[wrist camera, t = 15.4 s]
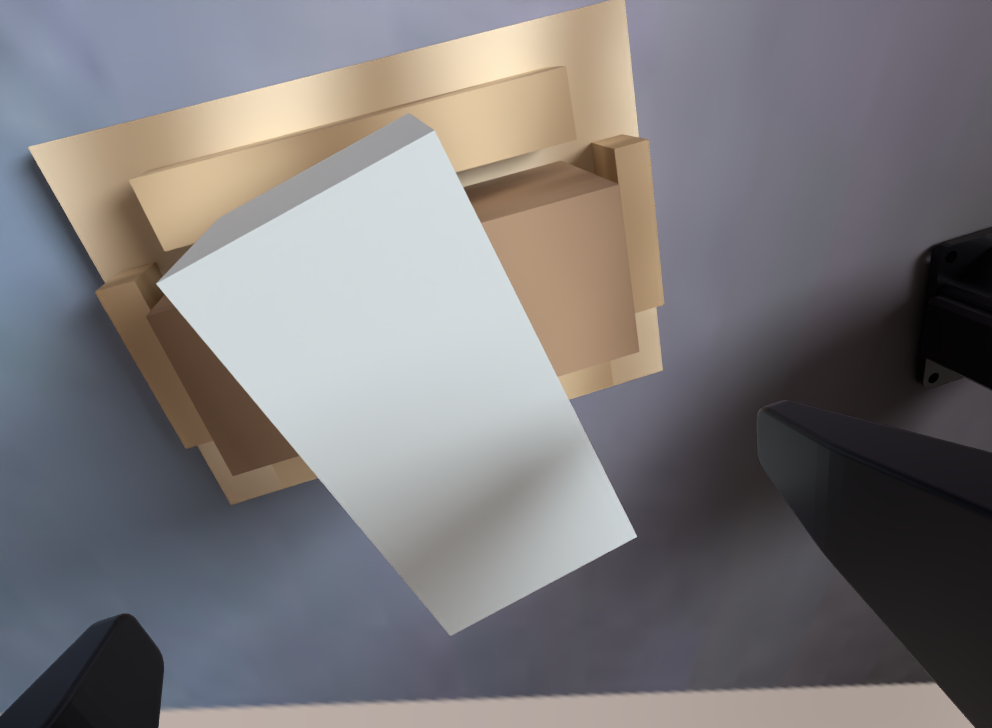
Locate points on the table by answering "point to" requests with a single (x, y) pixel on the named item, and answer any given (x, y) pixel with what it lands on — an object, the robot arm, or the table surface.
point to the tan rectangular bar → (529, 267)
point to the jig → (329, 129)
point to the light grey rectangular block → (405, 372)
